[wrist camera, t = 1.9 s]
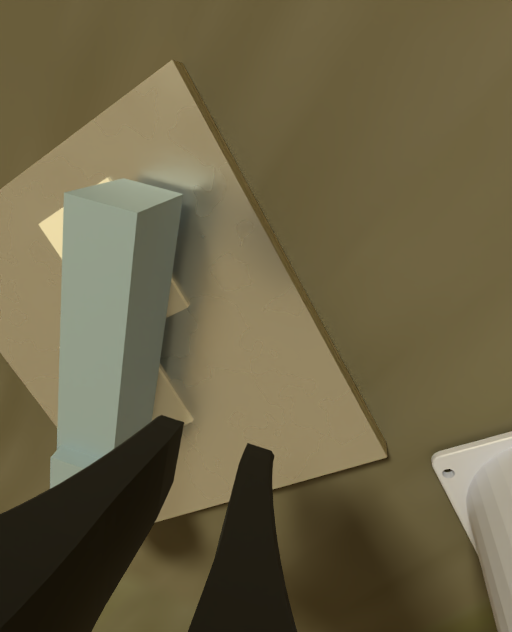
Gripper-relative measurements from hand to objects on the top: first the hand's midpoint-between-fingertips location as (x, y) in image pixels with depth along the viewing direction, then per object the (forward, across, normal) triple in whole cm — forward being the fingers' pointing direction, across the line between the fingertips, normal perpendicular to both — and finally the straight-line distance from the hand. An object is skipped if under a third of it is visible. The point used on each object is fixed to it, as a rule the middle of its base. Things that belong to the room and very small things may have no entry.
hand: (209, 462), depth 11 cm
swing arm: (+8, +6, +4) cm, 10 cm away
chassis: (+9, +5, +3) cm, 11 cm away
